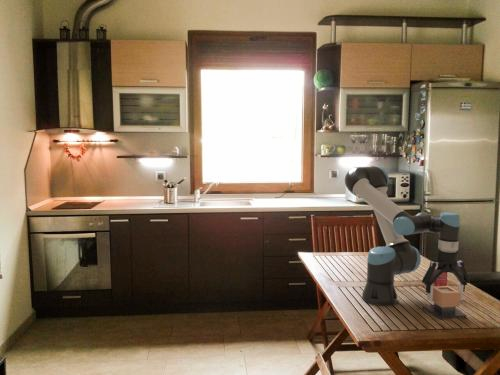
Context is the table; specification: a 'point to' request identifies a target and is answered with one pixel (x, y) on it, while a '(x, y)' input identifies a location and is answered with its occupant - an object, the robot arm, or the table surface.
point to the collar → (446, 297)
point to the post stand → (444, 310)
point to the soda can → (440, 280)
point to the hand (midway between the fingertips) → (444, 299)
